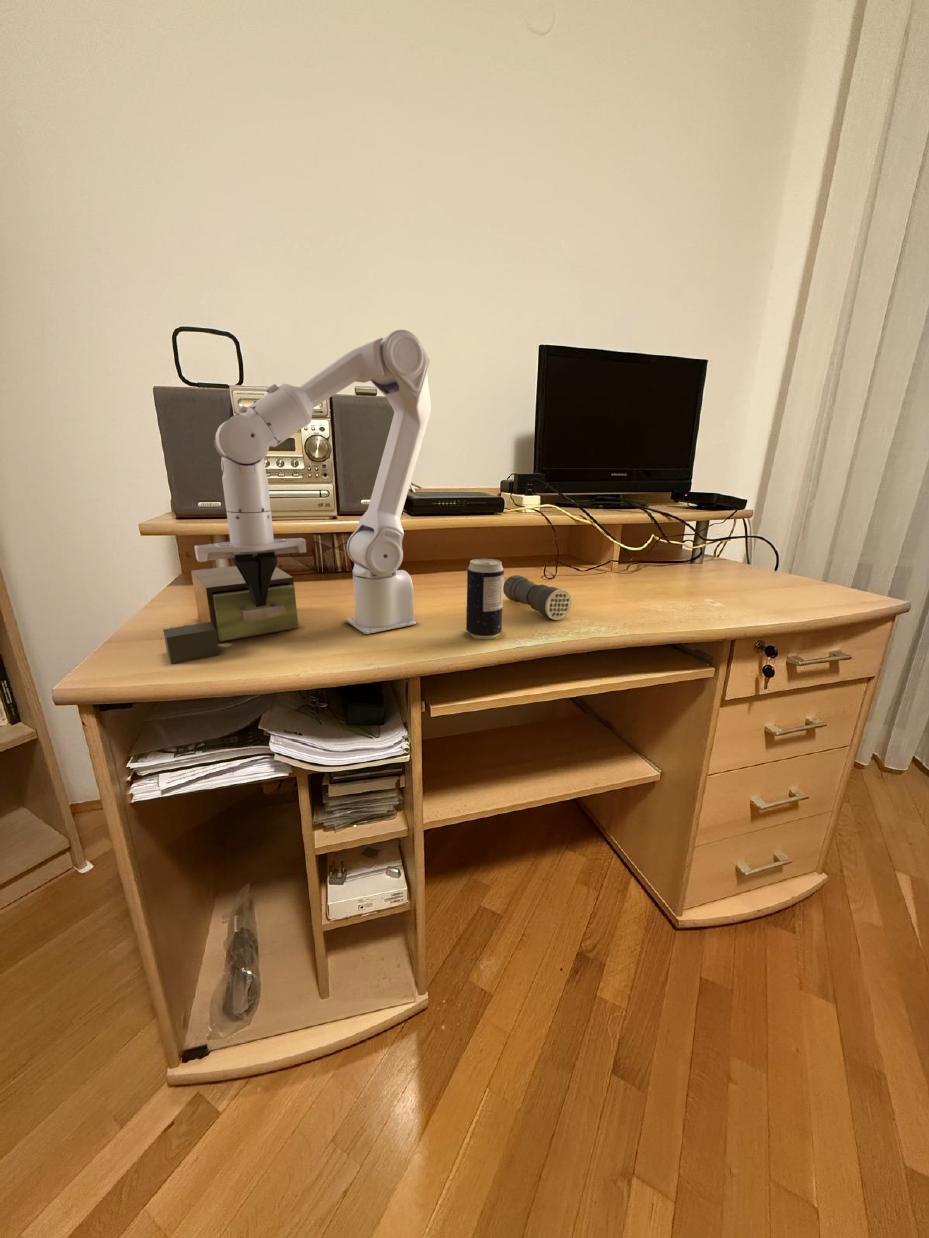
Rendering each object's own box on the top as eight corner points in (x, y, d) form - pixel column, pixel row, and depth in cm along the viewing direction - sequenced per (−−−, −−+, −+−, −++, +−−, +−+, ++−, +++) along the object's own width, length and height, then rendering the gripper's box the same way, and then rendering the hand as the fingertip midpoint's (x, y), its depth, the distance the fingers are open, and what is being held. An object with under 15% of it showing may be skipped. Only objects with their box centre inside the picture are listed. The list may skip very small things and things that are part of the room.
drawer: (308, 635, 75) (304, 592, 72) (227, 651, 68) (220, 604, 66) (275, 608, 88) (271, 571, 86) (205, 619, 81) (199, 579, 79)
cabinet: (298, 628, 80) (293, 577, 78) (214, 643, 73) (205, 587, 71) (274, 608, 91) (269, 562, 88) (198, 619, 84) (190, 570, 81)
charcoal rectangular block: (214, 646, 72) (210, 621, 71) (219, 654, 69) (216, 629, 68) (167, 654, 69) (162, 629, 68) (171, 664, 66) (166, 637, 65)
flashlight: (499, 600, 99) (500, 574, 97) (522, 597, 101) (523, 571, 99) (546, 621, 86) (548, 591, 84) (570, 617, 88) (572, 588, 87)
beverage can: (499, 629, 82) (502, 558, 78) (503, 641, 76) (506, 565, 73) (465, 628, 82) (466, 557, 78) (466, 640, 76) (468, 565, 72)
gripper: (292, 506, 75) (299, 592, 79) (185, 510, 67) (200, 605, 71) (308, 510, 70) (315, 602, 74) (194, 515, 62) (209, 618, 66)
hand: (259, 604), depth 72 cm, fingers closed
